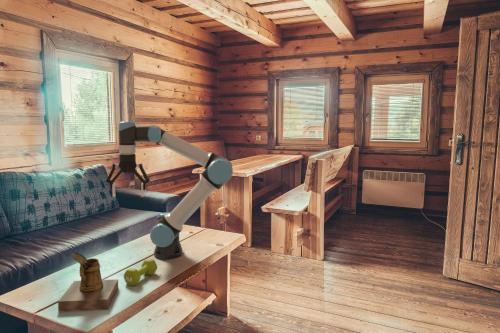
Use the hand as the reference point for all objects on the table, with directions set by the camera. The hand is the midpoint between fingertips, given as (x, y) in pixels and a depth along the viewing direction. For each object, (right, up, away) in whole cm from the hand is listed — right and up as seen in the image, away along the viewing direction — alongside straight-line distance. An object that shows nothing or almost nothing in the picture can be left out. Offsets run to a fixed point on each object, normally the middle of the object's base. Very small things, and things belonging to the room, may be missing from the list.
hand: (128, 196), depth 183 cm
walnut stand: (-5, -39, -32) cm, 51 cm away
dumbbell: (+10, -37, -12) cm, 40 cm away
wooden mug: (-6, -35, -33) cm, 48 cm away
